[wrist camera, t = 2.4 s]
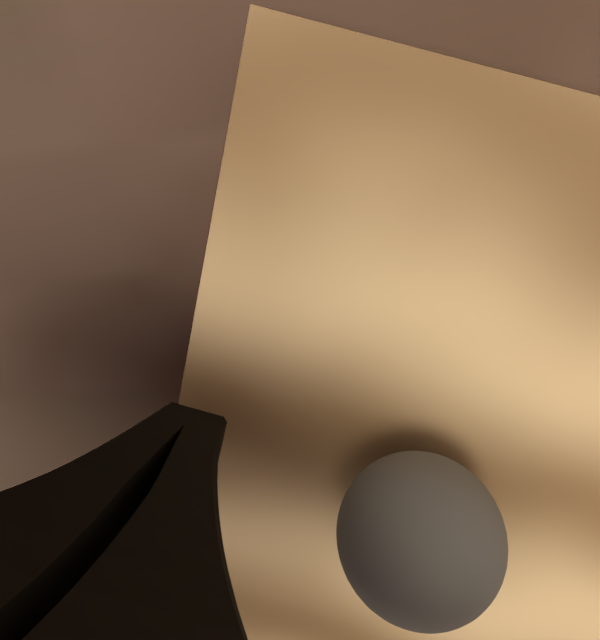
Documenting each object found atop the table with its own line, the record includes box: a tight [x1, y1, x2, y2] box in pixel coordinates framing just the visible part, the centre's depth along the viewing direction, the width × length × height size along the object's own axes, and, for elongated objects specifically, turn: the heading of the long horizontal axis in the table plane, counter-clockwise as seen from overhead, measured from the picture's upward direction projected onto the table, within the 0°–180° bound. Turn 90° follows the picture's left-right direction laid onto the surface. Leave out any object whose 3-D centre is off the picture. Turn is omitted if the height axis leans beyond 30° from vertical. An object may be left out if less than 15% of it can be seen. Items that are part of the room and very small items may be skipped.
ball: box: [336, 451, 508, 634], centre depth 10 cm, size 4×4×4 cm
